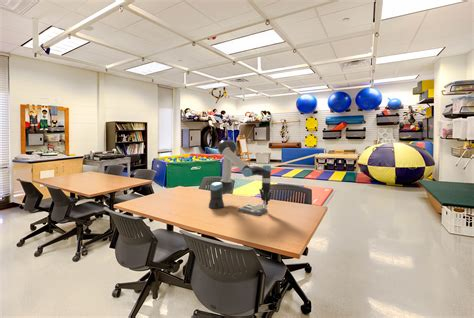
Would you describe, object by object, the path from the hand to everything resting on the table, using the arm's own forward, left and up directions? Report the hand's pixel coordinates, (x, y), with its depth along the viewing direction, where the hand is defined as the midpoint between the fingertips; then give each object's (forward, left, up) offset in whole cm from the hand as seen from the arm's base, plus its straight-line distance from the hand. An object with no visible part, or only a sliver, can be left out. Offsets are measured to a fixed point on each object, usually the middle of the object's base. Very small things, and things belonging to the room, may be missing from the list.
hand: (265, 208), depth 221 cm
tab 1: (-7, -7, -2) cm, 10 cm away
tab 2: (-5, 0, -2) cm, 6 cm away
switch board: (-11, -4, -4) cm, 13 cm away
